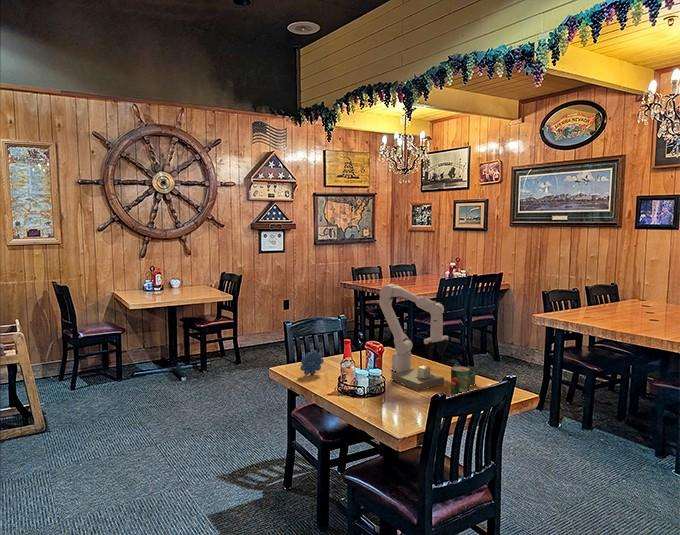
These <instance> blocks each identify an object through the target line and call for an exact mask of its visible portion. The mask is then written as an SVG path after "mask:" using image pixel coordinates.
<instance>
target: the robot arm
mask: <svg viewBox="0 0 680 535" xmlns="http://www.w3.org/2000/svg"><path fill="white" fill-rule="evenodd" d="M378 294H379V307H380V309H381V311H382V313H383V316H384V318H385V321H386V323H387V325H388V327H389V329H390V332H391V334H392V336H393V343H394V350H395V352H394V353H393V354H392V357H391V368H390V370H391V371H392V370H393V372H395V371H396V372H395V373H397V372H402V371H406V370H411V369H412V352H411V350H412V349H413V347H414V345H413V342H412V340H411V339H409V336H408V335H407V334H406V333H405V332H404V331H403V328H402V326H401V324H400V322H399V320H398V316H397V315H396V312H395V311H394V308H393V306H392V302H393V300H394V299H395V297H402V298H404V299H406V300H409V301H411V302H413V303H415V305H416V307H417V308H419V309H422V310H423V311H425V312H428V313H429V314H430V330H429V332H430V335H429V336H430V337H427V338H424V339H423V346H424V348H425V350H426V353H427V356H428V359H433V357H434V348H435V344H433V343H437V344H438V351H439V355H440V356H442V357H443V356H444V355H445V351H446V350H447V347H448V345H449V343H450V342H449V341H450V340H449V336H448V335H443V330H444V329H443V328H444V323H443V322H444V319H443V316H444V315H443V313H444V312H445V307H444V305H443V304H442V303H441V302H437V301H436V300H431V299H429V298H428V297H427V296H426V295H420V296H419V295H416V294H414V293H412V292H411V291H409V290H407V289H406V288H404V287H402V286H400V285H397V284H396V283H389V284H386V285H383V286H382V287H381V289H380V291H379V293H378Z"/></svg>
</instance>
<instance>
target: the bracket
mask: <svg viewBox="0 0 680 535" xmlns="http://www.w3.org/2000/svg"><path fill="white" fill-rule="evenodd" d="M453 365H454V366H458V364H457V363H454V364H453ZM454 366H453V367H454ZM478 375H479V365H478V364H474V371H473V370H470V378H469V387H471V386H470V385H474V384H475V385H476V376H478ZM475 385H474V386H475Z"/></svg>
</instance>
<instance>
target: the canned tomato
mask: <svg viewBox="0 0 680 535" xmlns="http://www.w3.org/2000/svg"><path fill="white" fill-rule="evenodd" d="M470 371H471V369H470V368H469V367H467V366H462V365H457V366H452V367H450V395H453V396H455V394H458V393H462V392H467V391H469V392H470V386H469V378H470Z"/></svg>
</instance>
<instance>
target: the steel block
mask: <svg viewBox="0 0 680 535" xmlns="http://www.w3.org/2000/svg"><path fill="white" fill-rule="evenodd" d="M417 369H418V379H421V380H427V379H430V373H431V367H430V366H427V365H420V366H417Z"/></svg>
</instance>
